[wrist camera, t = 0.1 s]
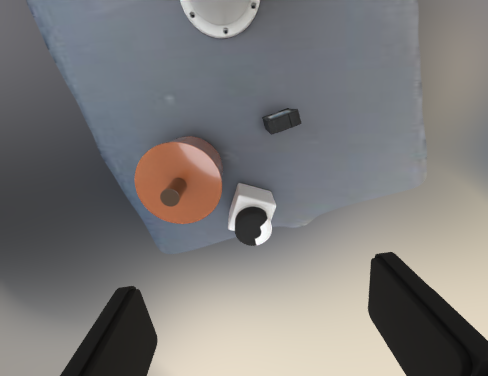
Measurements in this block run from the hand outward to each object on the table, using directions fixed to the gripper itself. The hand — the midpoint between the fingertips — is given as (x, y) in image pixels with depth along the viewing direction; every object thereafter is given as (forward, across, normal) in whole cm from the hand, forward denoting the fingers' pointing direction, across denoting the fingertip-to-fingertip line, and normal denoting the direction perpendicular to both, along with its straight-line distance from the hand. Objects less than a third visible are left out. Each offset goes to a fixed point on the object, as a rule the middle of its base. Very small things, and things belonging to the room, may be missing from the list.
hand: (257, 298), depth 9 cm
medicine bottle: (+37, 0, +12) cm, 39 cm away
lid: (+27, +10, +3) cm, 29 cm away
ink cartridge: (+37, -7, -4) cm, 38 cm away
